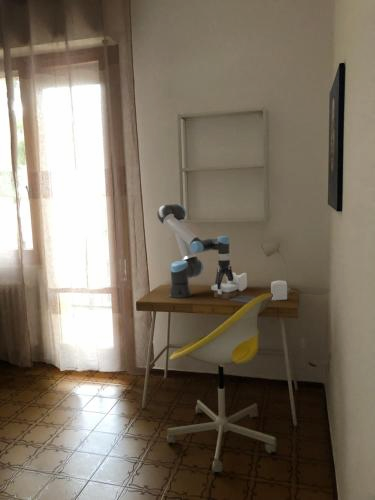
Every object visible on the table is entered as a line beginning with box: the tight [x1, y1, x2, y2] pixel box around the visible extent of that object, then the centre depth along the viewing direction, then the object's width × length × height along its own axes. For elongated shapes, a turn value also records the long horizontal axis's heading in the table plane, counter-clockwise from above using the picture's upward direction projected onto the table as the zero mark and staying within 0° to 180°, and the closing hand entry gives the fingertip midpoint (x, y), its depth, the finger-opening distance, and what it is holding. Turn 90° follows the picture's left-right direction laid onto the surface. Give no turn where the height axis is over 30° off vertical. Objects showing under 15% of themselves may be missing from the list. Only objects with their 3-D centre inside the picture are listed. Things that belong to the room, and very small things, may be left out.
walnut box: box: [213, 289, 237, 300], centre depth 275 cm, size 12×8×5 cm, turn 51°
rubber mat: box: [228, 294, 256, 304], centre depth 265 cm, size 16×14×1 cm
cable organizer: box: [225, 271, 248, 292], centre depth 293 cm, size 15×11×12 cm
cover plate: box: [211, 282, 239, 292], centre depth 274 cm, size 14×11×2 cm
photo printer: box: [270, 279, 288, 301], centre depth 261 cm, size 10×4×12 cm, turn 96°
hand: (224, 292), depth 275 cm, fingers closed on cover plate, 11 cm apart
